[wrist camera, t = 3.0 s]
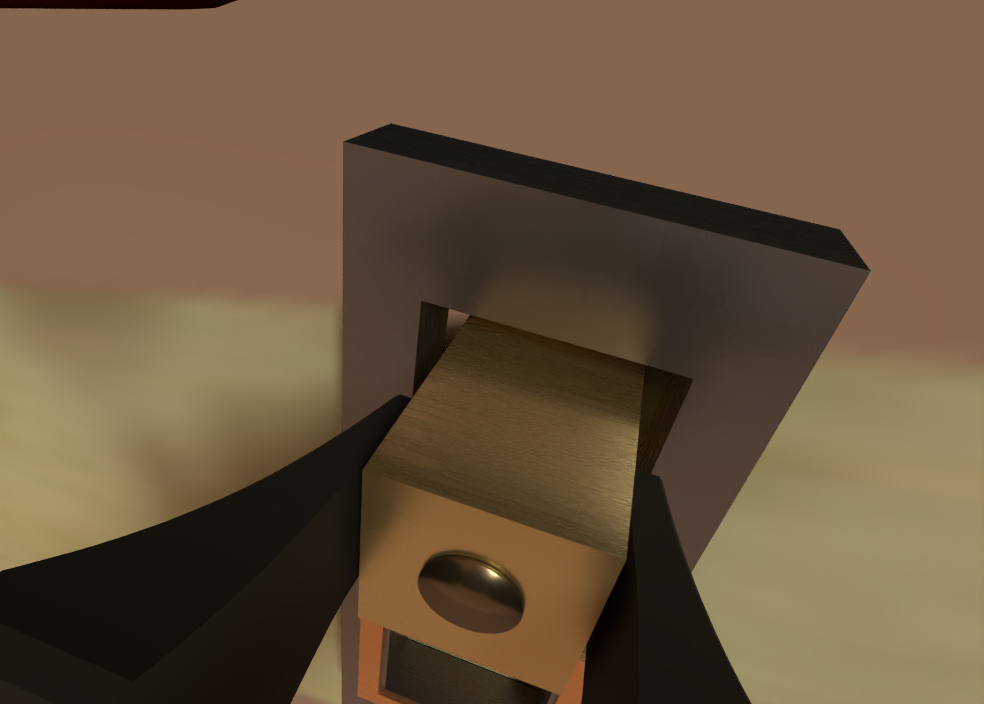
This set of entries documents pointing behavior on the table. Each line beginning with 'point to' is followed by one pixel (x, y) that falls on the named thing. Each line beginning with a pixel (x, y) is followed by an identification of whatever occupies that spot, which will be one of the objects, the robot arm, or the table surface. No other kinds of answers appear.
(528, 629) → the tan square knob peg
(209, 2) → the soda can
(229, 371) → the table surface
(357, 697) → the grey slotted board
